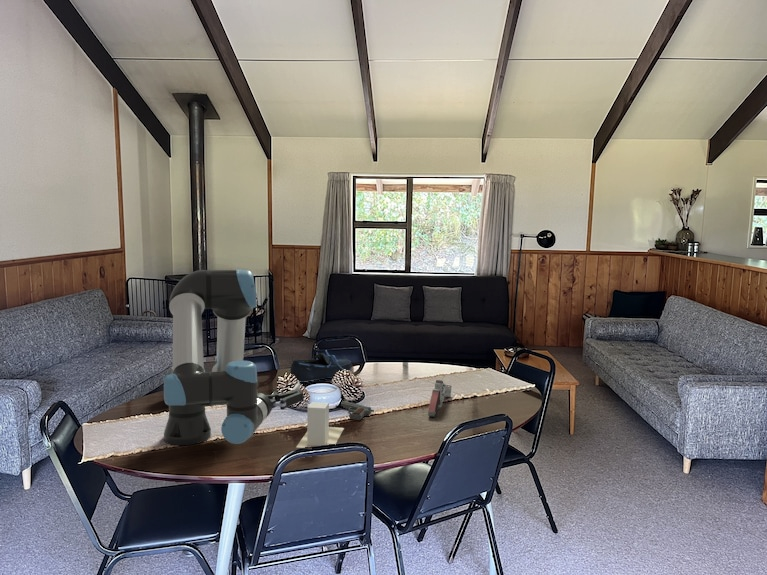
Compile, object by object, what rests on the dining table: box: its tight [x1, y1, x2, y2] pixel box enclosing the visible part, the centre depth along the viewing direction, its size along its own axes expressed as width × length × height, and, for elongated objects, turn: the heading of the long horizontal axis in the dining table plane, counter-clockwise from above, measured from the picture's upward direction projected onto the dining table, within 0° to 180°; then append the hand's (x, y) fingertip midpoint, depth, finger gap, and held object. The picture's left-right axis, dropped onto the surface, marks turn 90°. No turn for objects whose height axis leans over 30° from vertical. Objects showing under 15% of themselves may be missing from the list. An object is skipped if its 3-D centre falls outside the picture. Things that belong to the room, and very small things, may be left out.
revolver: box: [427, 379, 452, 418], centre depth 233 cm, size 4×29×15 cm, turn 162°
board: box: [296, 426, 345, 449], centre depth 194 cm, size 20×12×5 cm, turn 173°
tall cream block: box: [306, 401, 330, 446], centre depth 189 cm, size 6×6×13 cm
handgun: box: [341, 400, 375, 421], centre depth 224 cm, size 3×18×12 cm
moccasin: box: [289, 349, 353, 382], centre depth 274 cm, size 14×34×12 cm, turn 138°
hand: (276, 386), depth 176 cm, fingers open, 13 cm apart
